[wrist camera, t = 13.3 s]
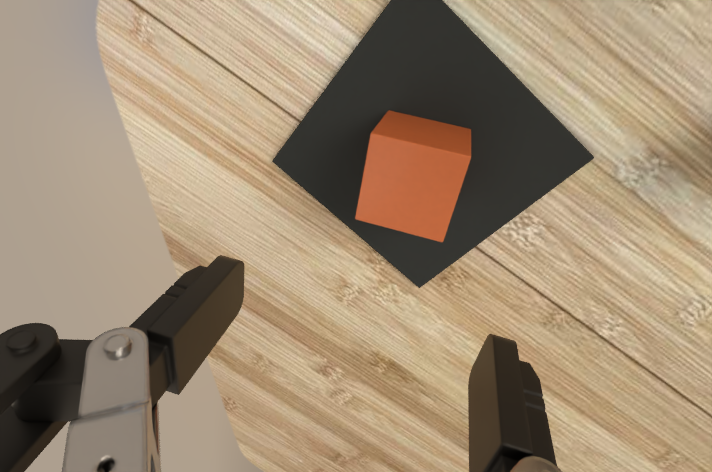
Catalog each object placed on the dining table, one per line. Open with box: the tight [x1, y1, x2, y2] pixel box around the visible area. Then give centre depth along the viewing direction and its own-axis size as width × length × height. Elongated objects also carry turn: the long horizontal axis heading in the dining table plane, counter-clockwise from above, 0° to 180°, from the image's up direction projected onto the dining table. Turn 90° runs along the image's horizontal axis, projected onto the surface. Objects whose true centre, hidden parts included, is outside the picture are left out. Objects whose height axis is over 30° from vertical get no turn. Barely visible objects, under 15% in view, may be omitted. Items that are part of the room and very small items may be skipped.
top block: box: [355, 110, 471, 242], centre depth 23 cm, size 5×5×5 cm
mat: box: [273, 0, 594, 288], centre depth 25 cm, size 14×14×1 cm
